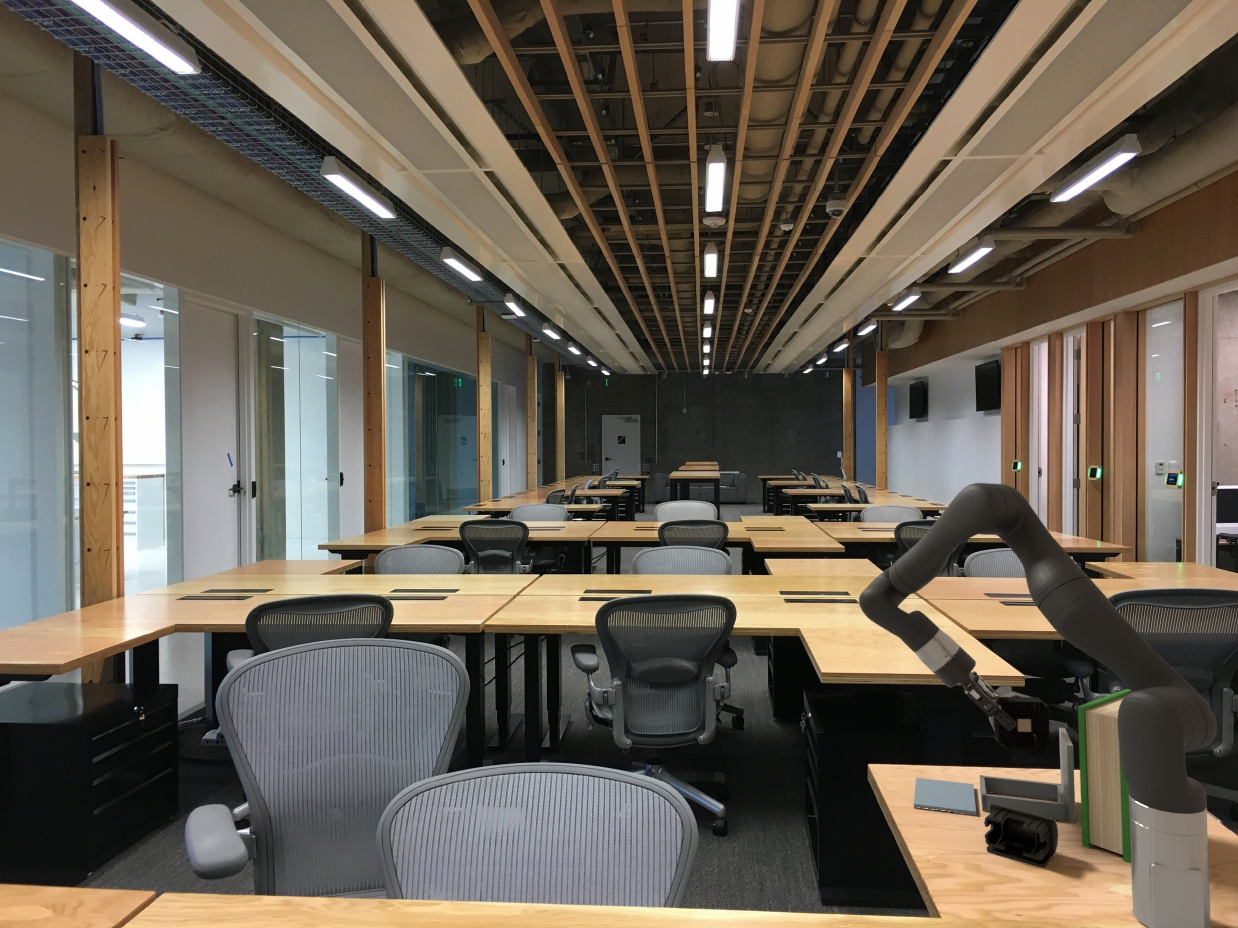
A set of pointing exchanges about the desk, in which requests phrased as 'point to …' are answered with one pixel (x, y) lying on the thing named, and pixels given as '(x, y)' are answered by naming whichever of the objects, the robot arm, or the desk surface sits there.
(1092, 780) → the hardback book
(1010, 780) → the open rectangular frame
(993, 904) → the desk surface
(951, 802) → the rubber mat
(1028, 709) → the cpu cooler
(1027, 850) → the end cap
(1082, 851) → the desk surface
